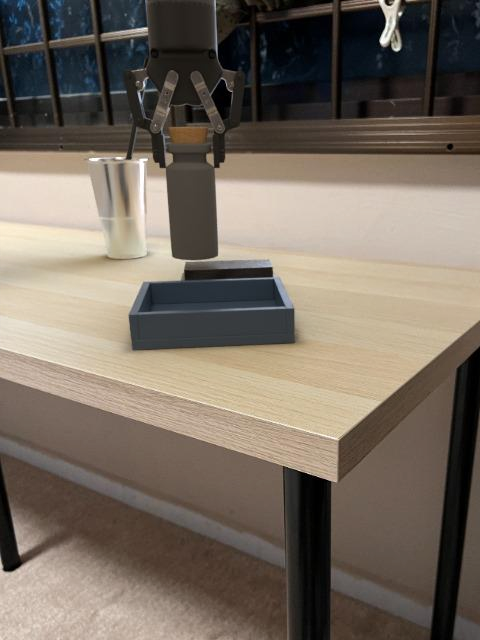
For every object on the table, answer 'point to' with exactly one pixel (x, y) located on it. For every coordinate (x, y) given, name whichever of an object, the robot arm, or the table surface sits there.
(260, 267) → the scrub brush
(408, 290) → the table surface
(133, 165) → the glass
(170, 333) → the tray
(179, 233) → the bottle
